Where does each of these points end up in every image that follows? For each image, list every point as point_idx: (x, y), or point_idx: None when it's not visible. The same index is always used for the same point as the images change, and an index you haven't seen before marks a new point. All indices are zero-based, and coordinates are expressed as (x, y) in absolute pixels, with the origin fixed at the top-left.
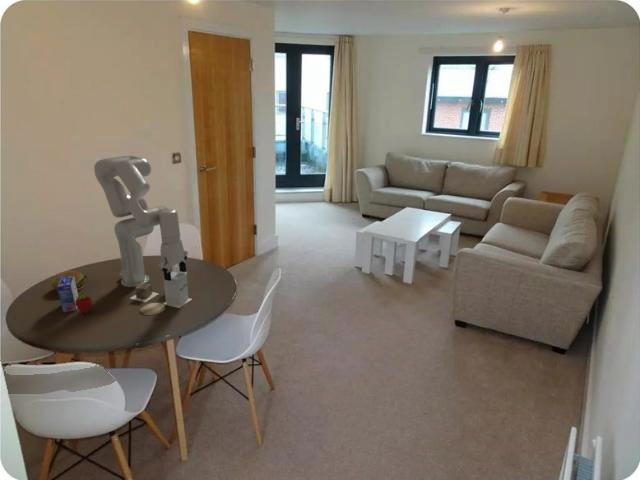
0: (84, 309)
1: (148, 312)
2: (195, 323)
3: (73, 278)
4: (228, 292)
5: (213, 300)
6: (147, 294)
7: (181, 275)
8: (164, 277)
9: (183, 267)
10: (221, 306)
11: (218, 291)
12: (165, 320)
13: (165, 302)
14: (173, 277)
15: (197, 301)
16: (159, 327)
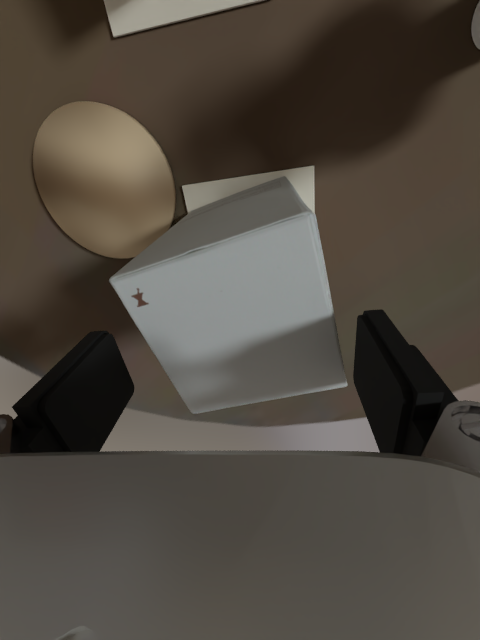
0: None
1: (67, 209)
2: (171, 412)
3: None
4: (451, 382)
5: (348, 373)
6: None
7: (276, 385)
8: (78, 345)
9: (373, 413)
10: (315, 419)
11: (451, 341)
12: (106, 322)
13: (203, 187)
14: (192, 358)
15: None
16: (64, 338)
